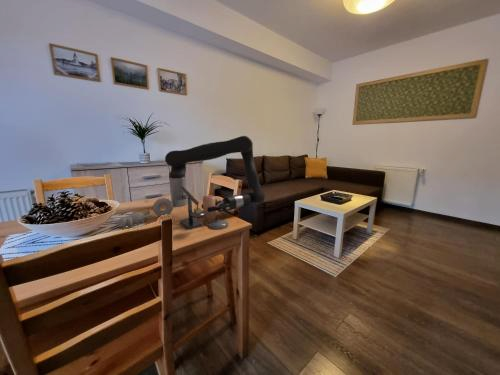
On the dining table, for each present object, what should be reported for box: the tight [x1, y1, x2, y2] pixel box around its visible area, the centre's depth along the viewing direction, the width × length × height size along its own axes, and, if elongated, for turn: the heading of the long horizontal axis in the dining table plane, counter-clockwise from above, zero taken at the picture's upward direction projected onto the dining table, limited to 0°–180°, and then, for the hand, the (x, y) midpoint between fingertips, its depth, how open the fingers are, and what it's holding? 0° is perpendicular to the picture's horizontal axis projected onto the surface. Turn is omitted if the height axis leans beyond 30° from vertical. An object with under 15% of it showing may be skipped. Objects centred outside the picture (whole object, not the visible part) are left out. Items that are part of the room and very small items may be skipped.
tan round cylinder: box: [202, 194, 217, 223], centre depth 104 cm, size 6×6×12 cm
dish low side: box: [208, 219, 229, 230], centre depth 98 cm, size 9×9×1 cm
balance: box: [176, 187, 205, 231], centre depth 97 cm, size 23×7×17 cm, turn 38°
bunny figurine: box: [116, 210, 155, 228], centre depth 100 cm, size 10×5×15 cm
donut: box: [152, 197, 174, 217], centre depth 108 cm, size 10×4×10 cm, turn 120°
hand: (204, 208), depth 102 cm, fingers closed on tan round cylinder, 6 cm apart
